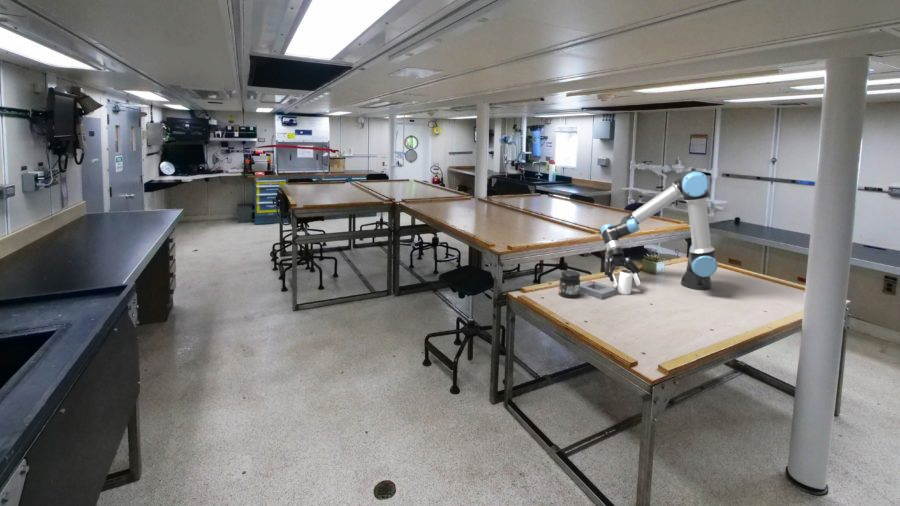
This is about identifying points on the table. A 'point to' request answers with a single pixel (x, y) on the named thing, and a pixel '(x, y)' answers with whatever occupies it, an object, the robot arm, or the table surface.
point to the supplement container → (569, 284)
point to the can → (625, 282)
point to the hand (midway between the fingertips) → (627, 285)
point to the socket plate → (597, 289)
